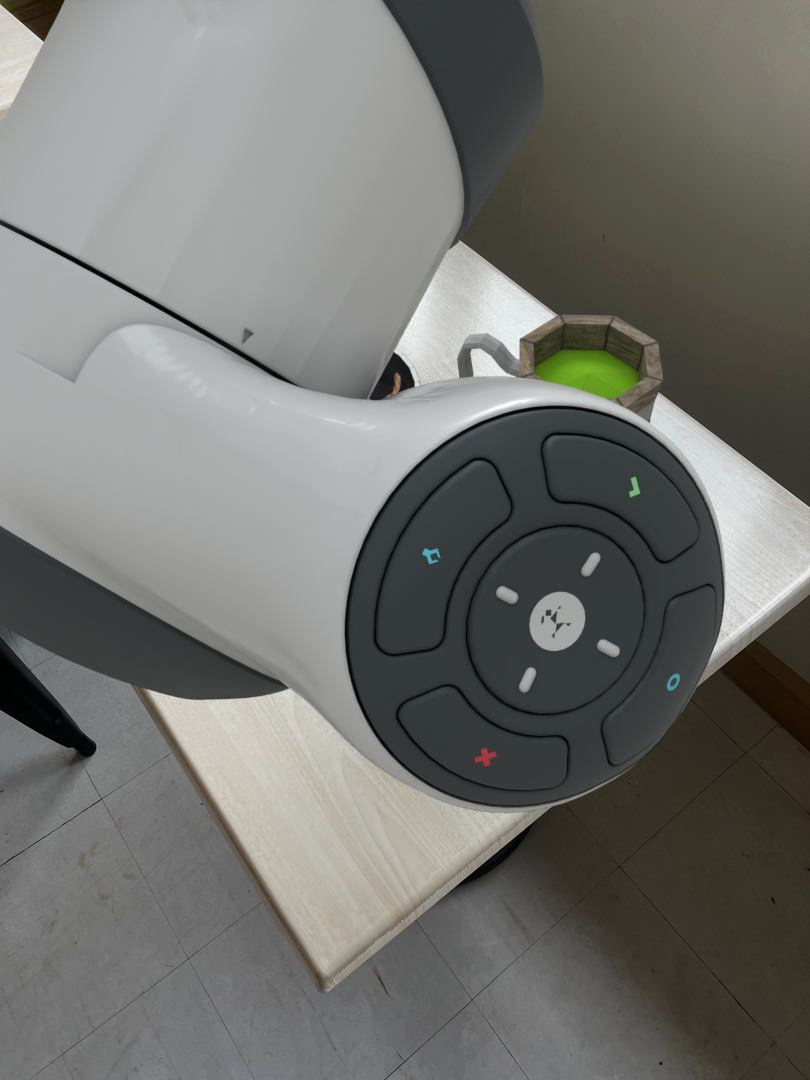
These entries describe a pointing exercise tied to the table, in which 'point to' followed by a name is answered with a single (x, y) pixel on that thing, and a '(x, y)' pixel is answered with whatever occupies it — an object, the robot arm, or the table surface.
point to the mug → (581, 359)
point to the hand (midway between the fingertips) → (372, 502)
